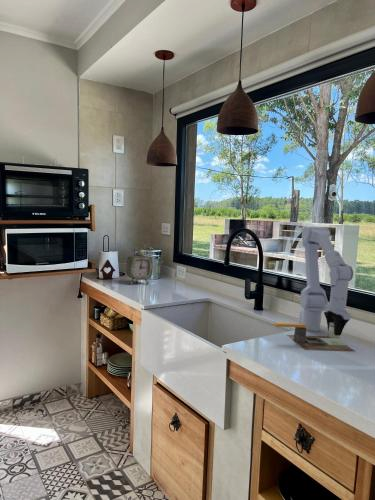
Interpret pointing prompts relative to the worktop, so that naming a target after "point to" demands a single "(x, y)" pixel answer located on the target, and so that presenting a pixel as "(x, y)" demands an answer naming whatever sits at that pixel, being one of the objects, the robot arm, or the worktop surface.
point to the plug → (332, 331)
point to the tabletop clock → (139, 266)
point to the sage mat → (333, 341)
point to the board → (314, 342)
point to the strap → (290, 324)
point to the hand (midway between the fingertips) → (334, 333)
